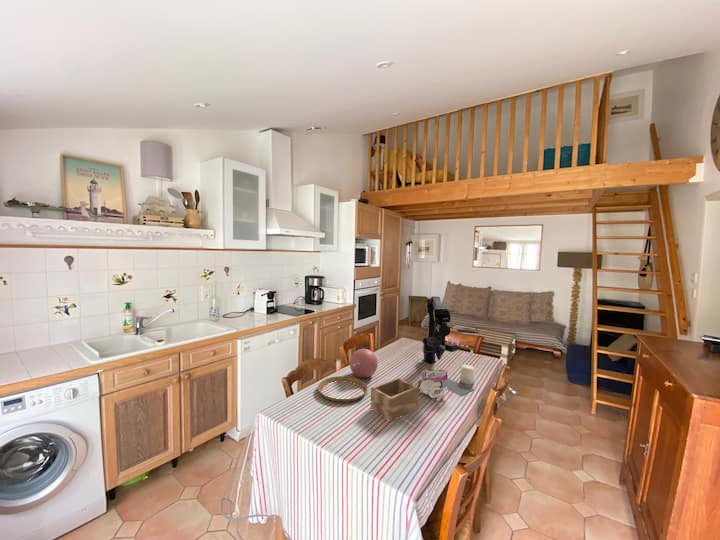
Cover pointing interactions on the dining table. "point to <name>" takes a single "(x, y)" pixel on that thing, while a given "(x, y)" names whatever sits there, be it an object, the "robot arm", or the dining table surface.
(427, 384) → the coral
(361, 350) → the pink ball
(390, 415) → the rectangular brown crate
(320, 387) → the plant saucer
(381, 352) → the dining table surface
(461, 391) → the mat
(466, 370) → the cream domed cylinder
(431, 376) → the candy bar box
